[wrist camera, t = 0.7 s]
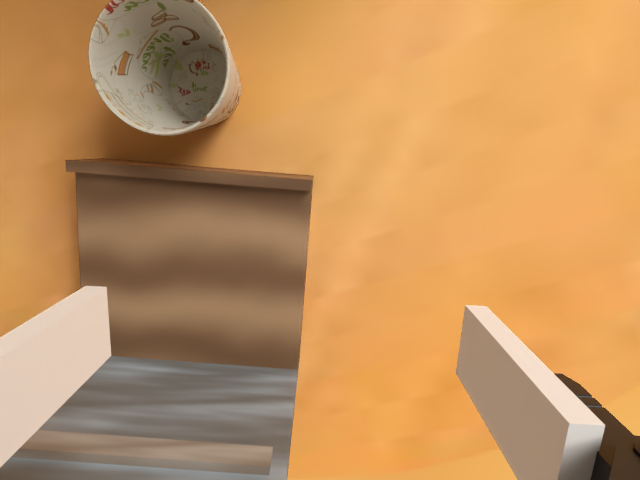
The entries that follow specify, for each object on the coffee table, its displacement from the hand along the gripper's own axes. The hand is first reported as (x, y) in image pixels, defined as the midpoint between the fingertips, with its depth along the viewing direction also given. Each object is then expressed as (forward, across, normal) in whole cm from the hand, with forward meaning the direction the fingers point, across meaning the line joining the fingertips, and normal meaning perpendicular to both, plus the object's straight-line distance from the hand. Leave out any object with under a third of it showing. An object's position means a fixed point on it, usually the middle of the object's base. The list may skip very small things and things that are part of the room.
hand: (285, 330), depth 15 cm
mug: (+22, -9, +13) cm, 27 cm away
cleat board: (+22, -9, -5) cm, 24 cm away
